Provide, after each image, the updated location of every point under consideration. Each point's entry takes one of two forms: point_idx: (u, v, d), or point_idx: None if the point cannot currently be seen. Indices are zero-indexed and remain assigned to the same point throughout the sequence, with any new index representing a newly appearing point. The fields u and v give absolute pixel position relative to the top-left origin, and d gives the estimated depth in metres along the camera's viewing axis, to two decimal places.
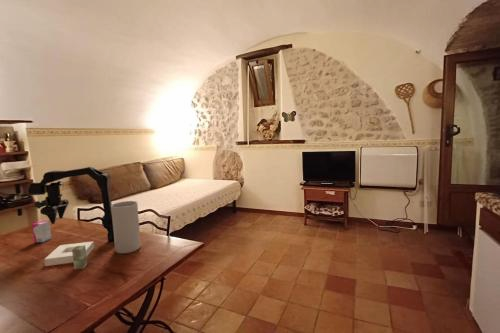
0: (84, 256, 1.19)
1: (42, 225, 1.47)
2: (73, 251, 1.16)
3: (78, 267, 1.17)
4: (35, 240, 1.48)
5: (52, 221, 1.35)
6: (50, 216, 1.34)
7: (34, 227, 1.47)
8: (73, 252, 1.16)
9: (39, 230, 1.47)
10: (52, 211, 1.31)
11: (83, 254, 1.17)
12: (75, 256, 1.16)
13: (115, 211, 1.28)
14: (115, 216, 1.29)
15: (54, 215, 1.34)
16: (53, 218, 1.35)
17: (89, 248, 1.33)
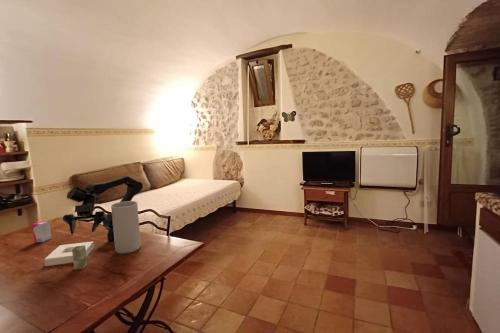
0: (84, 256, 1.19)
1: (42, 225, 1.47)
2: (73, 251, 1.16)
3: (78, 267, 1.17)
4: (35, 240, 1.48)
5: (94, 229, 1.27)
6: (96, 222, 1.29)
7: (34, 227, 1.47)
8: (73, 252, 1.16)
9: (39, 230, 1.47)
10: (106, 218, 1.33)
11: (83, 254, 1.17)
12: (75, 256, 1.16)
13: (114, 211, 1.28)
14: (115, 216, 1.29)
15: (99, 223, 1.31)
16: (96, 226, 1.29)
17: (89, 248, 1.33)
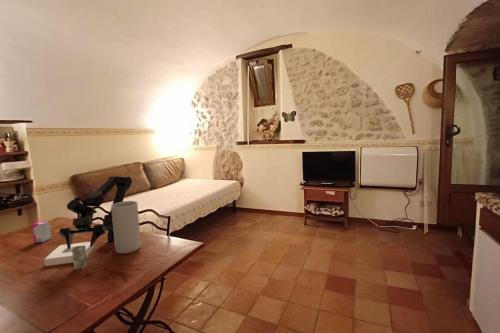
0: (84, 256, 1.19)
1: (42, 225, 1.47)
2: (73, 251, 1.16)
3: (78, 267, 1.17)
4: (35, 240, 1.48)
5: (92, 243, 1.21)
6: (94, 236, 1.23)
7: (34, 227, 1.47)
8: (73, 252, 1.16)
9: (39, 230, 1.47)
10: (105, 231, 1.28)
11: (83, 254, 1.17)
12: (75, 256, 1.16)
13: (114, 211, 1.28)
14: (115, 216, 1.29)
15: (97, 237, 1.25)
16: (95, 240, 1.23)
17: (89, 248, 1.33)
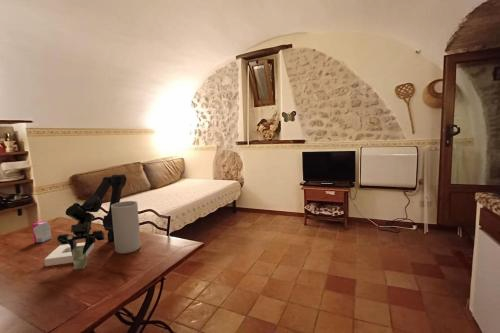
0: (84, 256, 1.19)
1: (42, 225, 1.47)
2: (73, 251, 1.15)
3: (78, 267, 1.17)
4: (35, 240, 1.48)
5: (85, 250, 1.18)
6: (88, 244, 1.20)
7: (34, 227, 1.47)
8: (73, 252, 1.16)
9: (39, 230, 1.47)
10: (104, 237, 1.26)
11: (83, 254, 1.17)
12: (75, 256, 1.16)
13: (115, 211, 1.28)
14: (115, 216, 1.29)
15: (90, 244, 1.22)
16: (88, 247, 1.20)
17: (89, 248, 1.33)
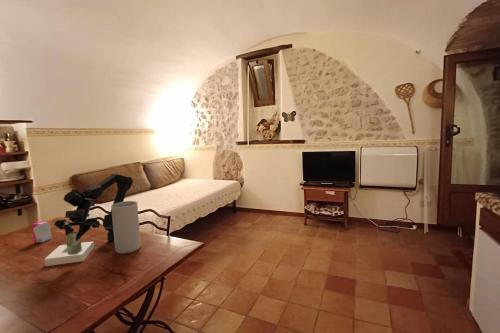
0: (78, 242, 1.20)
1: (42, 225, 1.47)
2: (66, 237, 1.17)
3: (71, 253, 1.18)
4: (35, 240, 1.48)
5: (78, 237, 1.19)
6: (82, 230, 1.21)
7: (34, 227, 1.47)
8: (66, 238, 1.17)
9: (39, 230, 1.47)
10: (99, 225, 1.26)
11: (75, 240, 1.18)
12: (68, 242, 1.18)
13: (115, 211, 1.28)
14: (115, 216, 1.29)
15: (85, 231, 1.23)
16: (82, 234, 1.21)
17: (89, 248, 1.33)
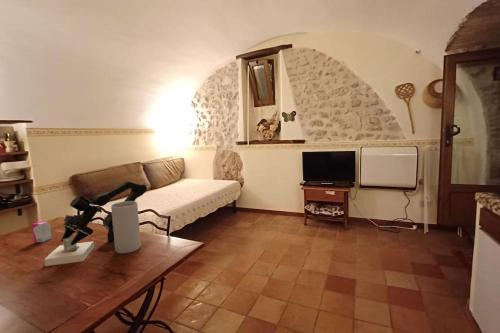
0: (71, 248, 1.28)
1: (42, 225, 1.47)
2: (63, 240, 1.28)
3: None
4: (35, 240, 1.48)
5: (74, 242, 1.26)
6: (78, 236, 1.27)
7: (34, 227, 1.47)
8: (63, 241, 1.28)
9: (39, 230, 1.47)
10: (91, 233, 1.29)
11: (68, 245, 1.27)
12: (64, 245, 1.28)
13: (114, 211, 1.28)
14: (115, 216, 1.29)
15: (83, 237, 1.29)
16: (78, 239, 1.27)
17: (89, 248, 1.33)
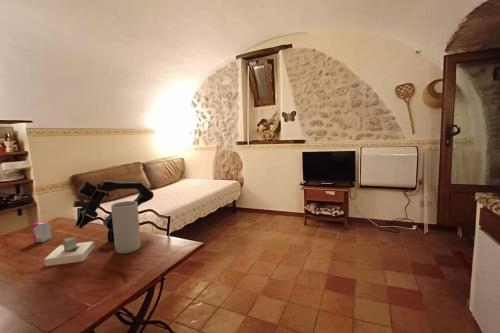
0: (71, 248, 1.28)
1: (42, 225, 1.47)
2: (63, 240, 1.28)
3: None
4: (35, 240, 1.48)
5: (81, 225, 1.31)
6: (85, 219, 1.32)
7: (34, 227, 1.47)
8: (63, 241, 1.28)
9: (39, 230, 1.47)
10: (95, 216, 1.32)
11: (68, 245, 1.27)
12: (64, 245, 1.28)
13: (115, 211, 1.28)
14: (115, 216, 1.29)
15: (89, 220, 1.32)
16: (85, 223, 1.32)
17: (89, 248, 1.33)
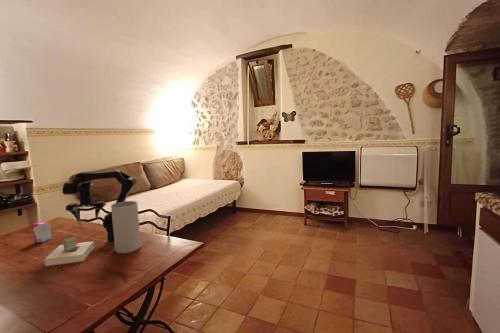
0: (71, 248, 1.28)
1: (42, 225, 1.47)
2: (63, 240, 1.28)
3: None
4: (35, 240, 1.48)
5: None
6: None
7: (34, 227, 1.47)
8: (63, 241, 1.28)
9: (39, 230, 1.47)
10: (66, 209, 1.41)
11: (68, 245, 1.27)
12: (64, 245, 1.28)
13: (115, 211, 1.28)
14: (115, 216, 1.29)
15: None
16: None
17: (89, 248, 1.33)
